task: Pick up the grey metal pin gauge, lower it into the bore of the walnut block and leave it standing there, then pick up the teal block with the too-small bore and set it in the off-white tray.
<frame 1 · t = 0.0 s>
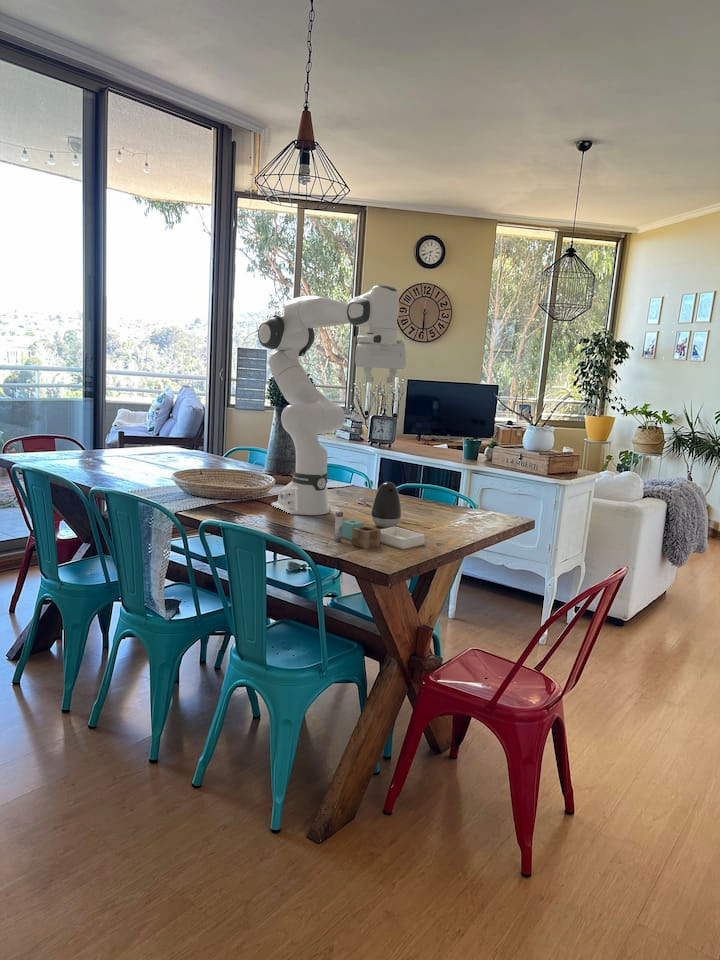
hand: (379, 382, 221), 48 cm above the table, tool pointing down, fingers open, 8 cm apart
tray: (398, 542, 216), on the table
teal block: (351, 537, 219), on the table
pin gauge: (337, 540, 213), on the table
dark grey egg shape: (385, 526, 236), on the table
walnut block: (365, 545, 210), on the table
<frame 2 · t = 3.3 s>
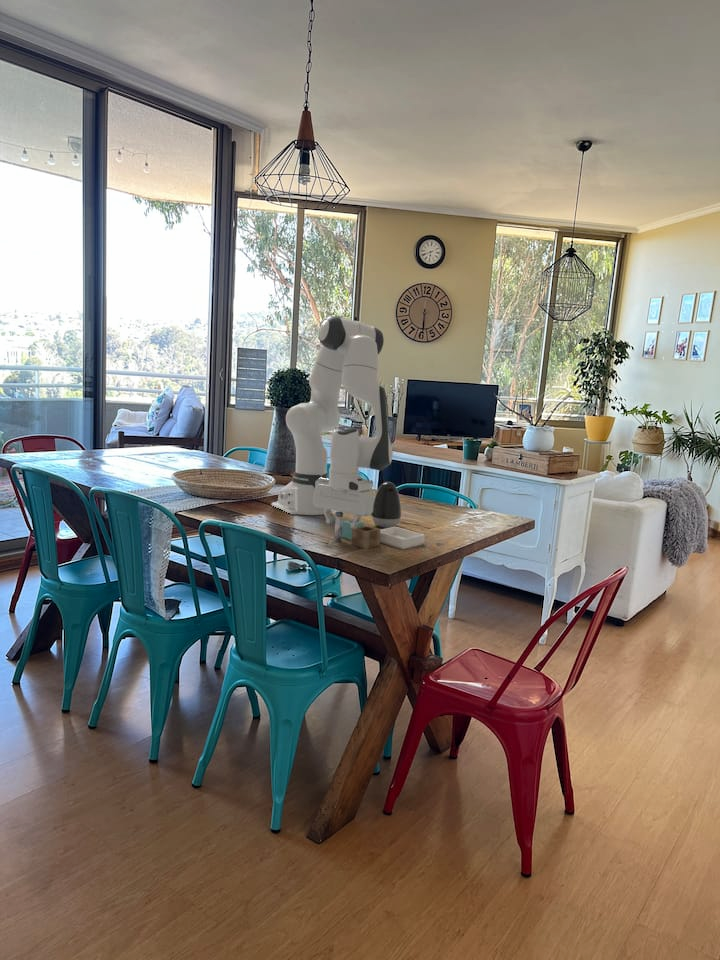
hand: (341, 525, 212), 5 cm above the table, tool pointing down, fingers open, 8 cm apart
walnut block: (365, 544, 210), on the table, touching gripper
everything else where it was.
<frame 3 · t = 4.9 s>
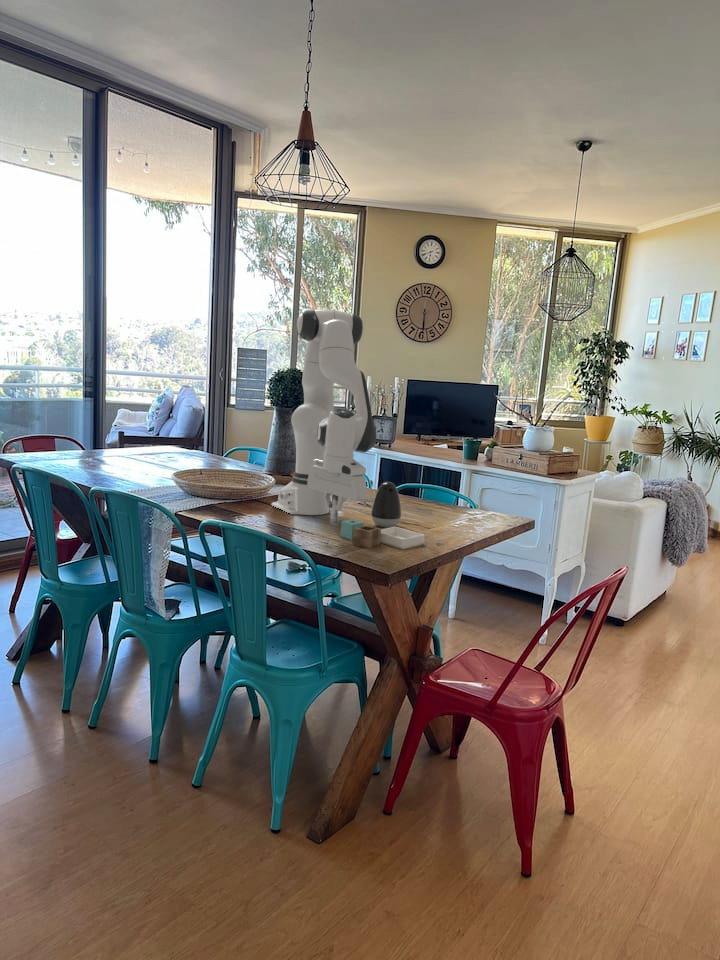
hand: (333, 508, 211), 10 cm above the table, tool pointing down, fingers closed on pin gauge, 2 cm apart
pin gauge: (333, 523, 213), point 5 cm above the table, touching gripper
walnut block: (366, 544, 211), on the table
everything else where it was.
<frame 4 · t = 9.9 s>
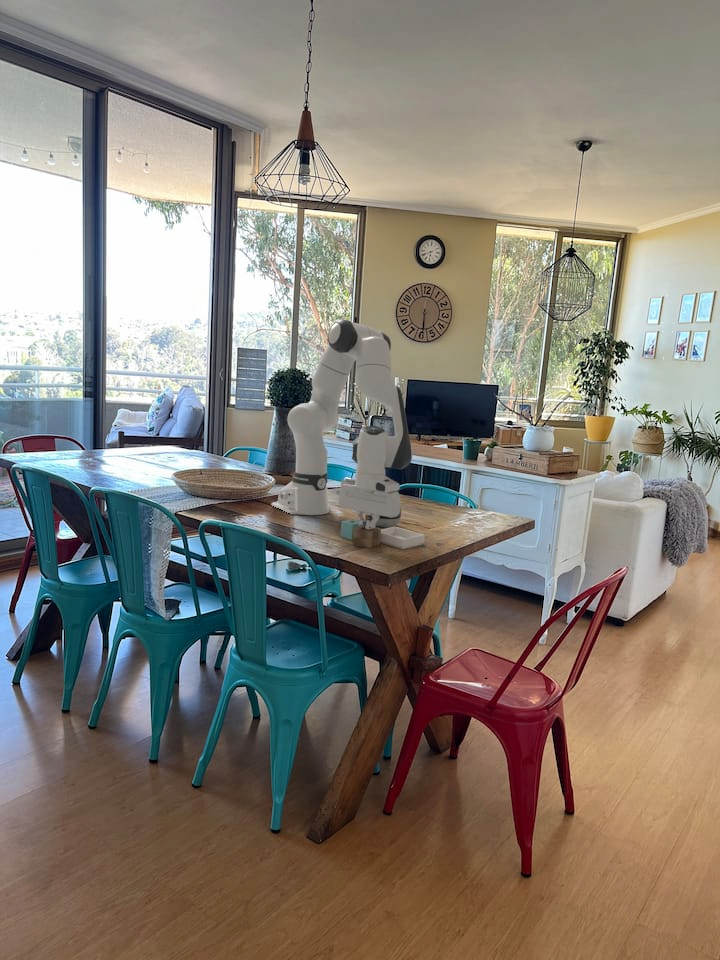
hand: (367, 526, 209), 6 cm above the table, tool pointing down, fingers closed on pin gauge, 2 cm apart
pin gauge: (367, 544, 211), resting in walnut block, touching gripper
everything else where it was.
when the fingers open (6 cm above the table, at t = 10.0 s): pin gauge stays where it is, resting in walnut block.
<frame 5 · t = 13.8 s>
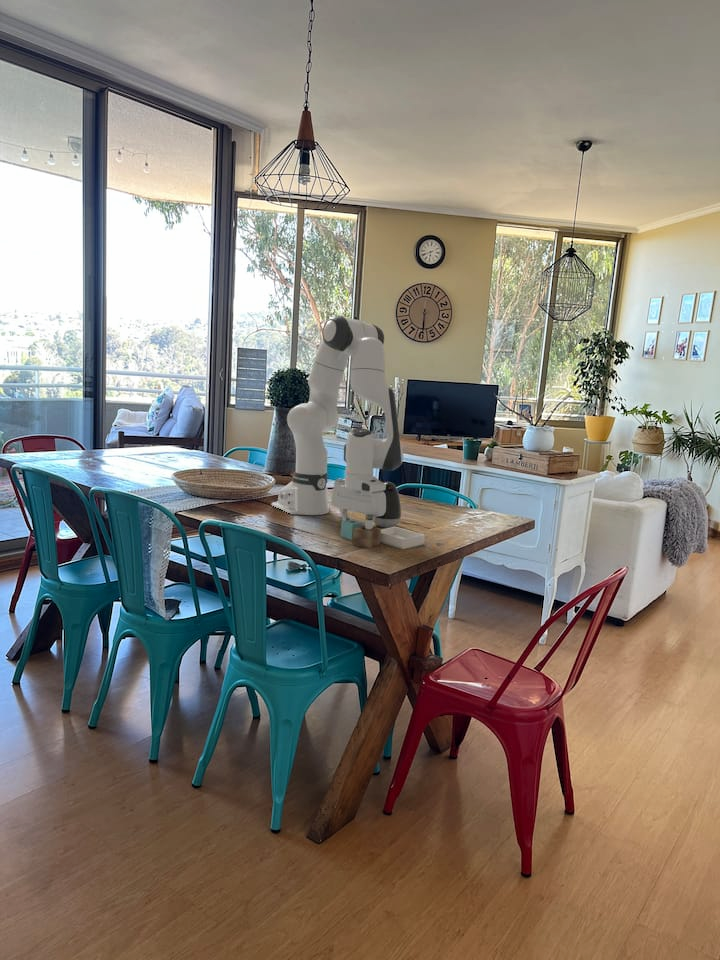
hand: (357, 525, 218), 4 cm above the table, tool pointing down, fingers open, 8 cm apart
pin gauge: (367, 544, 211), resting in walnut block
walnut block: (366, 544, 211), on the table, touching gripper
everything else where it was.
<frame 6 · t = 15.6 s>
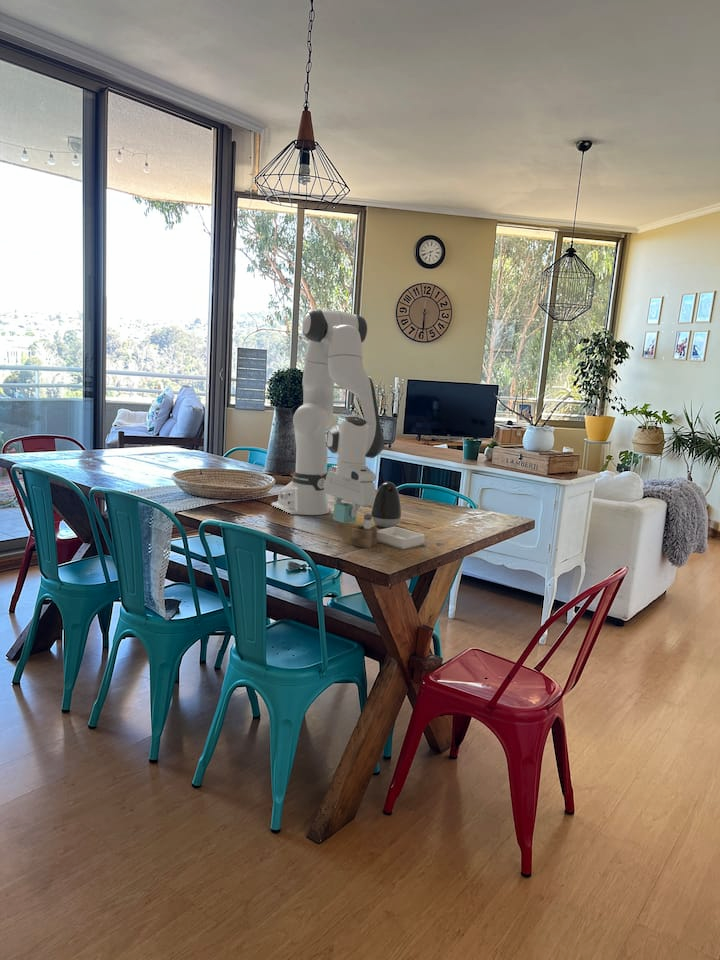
hand: (346, 513, 217), 7 cm above the table, tool pointing down, fingers closed on teal block, 5 cm apart
teal block: (344, 520, 217), point 5 cm above the table, touching gripper
walnut block: (363, 544, 211), on the table
everything else where it was.
when the fingers open (4 cm above the table, at t = 20.5 s): teal block stays where it is, resting on tray.
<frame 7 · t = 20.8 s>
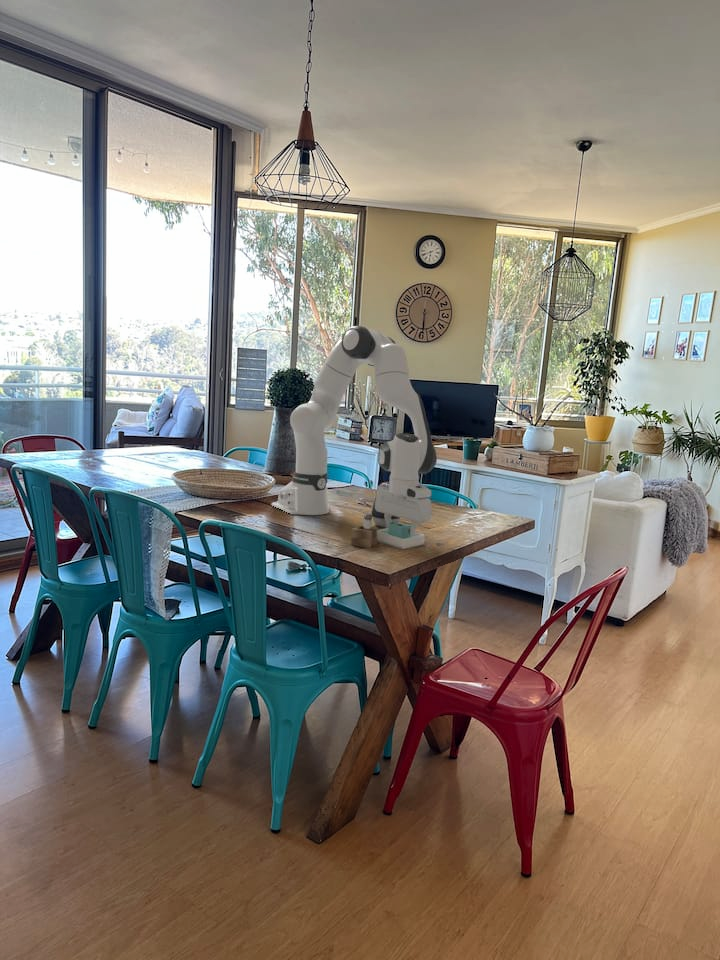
hand: (400, 531, 215), 4 cm above the table, tool pointing down, fingers open, 7 cm apart
teal block: (399, 540, 215), point 1 cm above the table, touching tray
everything else where it was.
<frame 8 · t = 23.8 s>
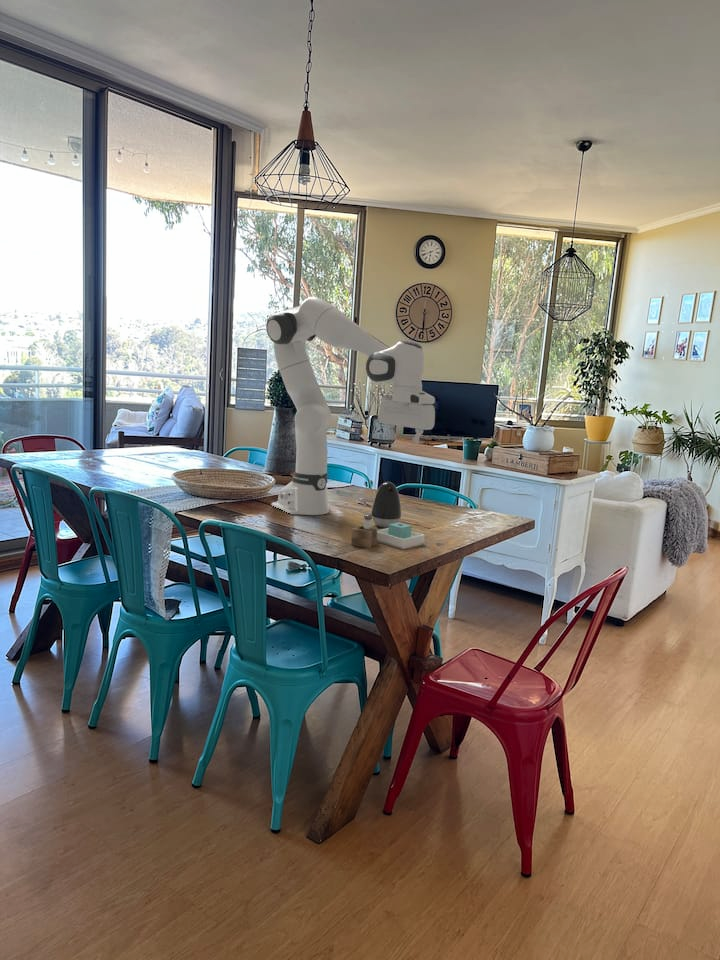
hand: (403, 441, 213), 31 cm above the table, tool pointing down, fingers open, 8 cm apart
nothing on the table moved.
at the end: teal block inside the target area on the tray (0.4 cm from its centre), point 0.6 cm above the tray's base; pin gauge 0.8 cm from the walnut block (horizontally); pin gauge resting in walnut block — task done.
